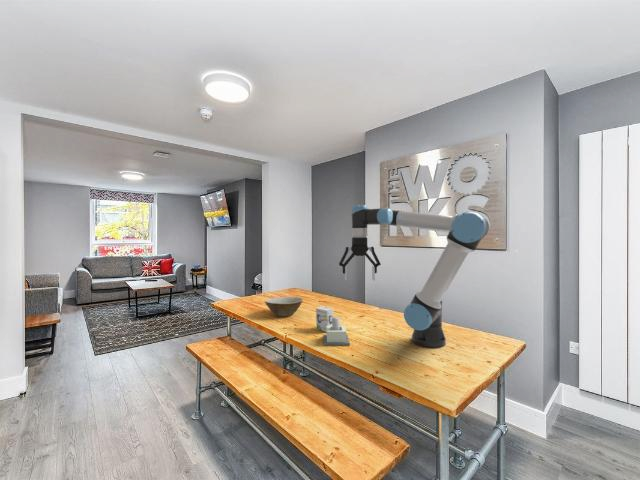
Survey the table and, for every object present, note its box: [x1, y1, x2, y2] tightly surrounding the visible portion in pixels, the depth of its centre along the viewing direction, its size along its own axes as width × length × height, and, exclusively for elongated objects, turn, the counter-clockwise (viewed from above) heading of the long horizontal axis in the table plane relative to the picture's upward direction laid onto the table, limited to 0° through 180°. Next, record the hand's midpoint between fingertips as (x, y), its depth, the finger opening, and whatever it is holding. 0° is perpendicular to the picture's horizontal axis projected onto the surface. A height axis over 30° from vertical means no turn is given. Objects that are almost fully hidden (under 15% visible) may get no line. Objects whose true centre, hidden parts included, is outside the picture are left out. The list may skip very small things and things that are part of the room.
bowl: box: [264, 296, 304, 317], centre depth 190 cm, size 24×24×10 cm
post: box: [322, 316, 351, 347], centre depth 145 cm, size 12×12×11 cm
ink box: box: [315, 305, 334, 333], centre depth 161 cm, size 9×5×12 cm, turn 47°
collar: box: [325, 325, 347, 342], centre depth 145 cm, size 9×9×5 cm
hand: (359, 280), depth 148 cm, fingers open, 13 cm apart
